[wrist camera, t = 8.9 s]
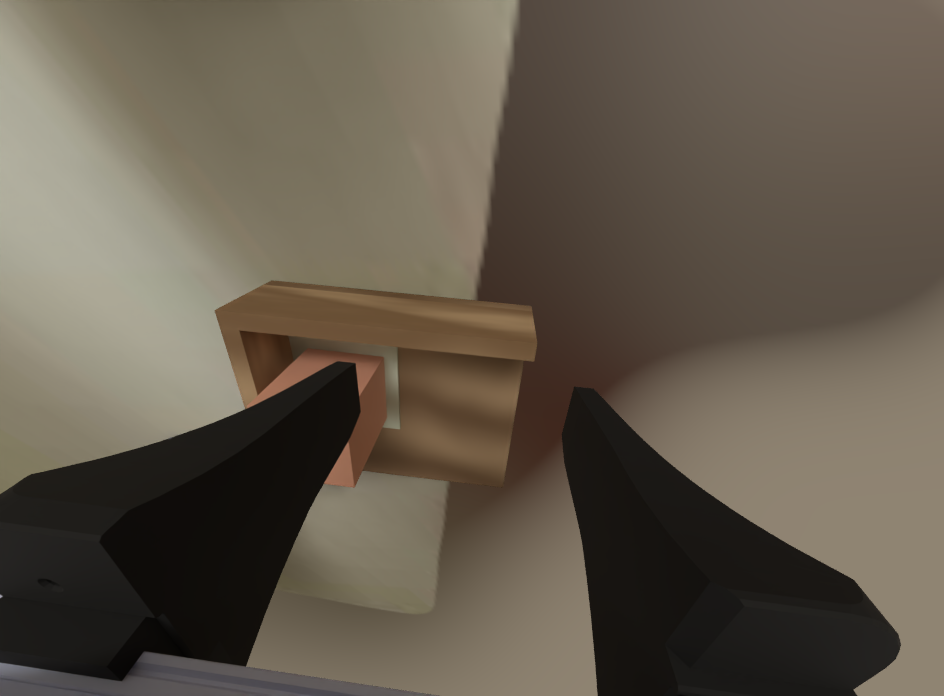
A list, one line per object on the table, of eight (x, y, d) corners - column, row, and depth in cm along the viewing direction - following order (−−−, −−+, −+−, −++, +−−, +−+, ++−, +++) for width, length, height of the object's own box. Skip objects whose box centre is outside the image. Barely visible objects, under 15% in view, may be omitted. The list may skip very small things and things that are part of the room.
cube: (387, 417, 25) (354, 487, 19) (318, 409, 25) (267, 476, 20) (383, 356, 22) (345, 418, 17) (307, 348, 22) (246, 406, 17)
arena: (503, 479, 28) (502, 536, 24) (309, 456, 29) (275, 506, 25) (531, 306, 21) (537, 343, 17) (272, 280, 21) (214, 310, 17)
